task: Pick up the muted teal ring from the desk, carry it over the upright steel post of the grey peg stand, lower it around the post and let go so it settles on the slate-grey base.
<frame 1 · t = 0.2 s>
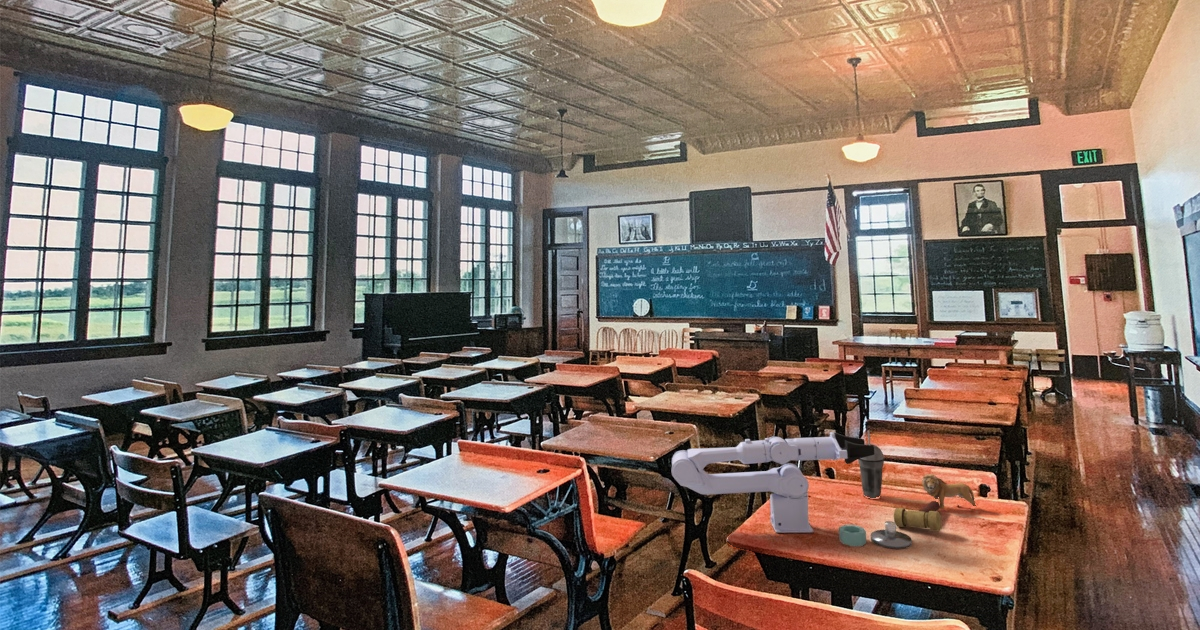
hand: (869, 446, 154), 21 cm above the table, tool horizontal, fingers open, 7 cm apart
ring: (852, 541, 147), on the table
grey peg stand: (890, 541, 146), on the table
lion figurine: (949, 508, 164), on the table, touching gavel
gavel: (927, 519, 157), on the table, touching lion figurine
beverage cup: (872, 497, 176), on the table
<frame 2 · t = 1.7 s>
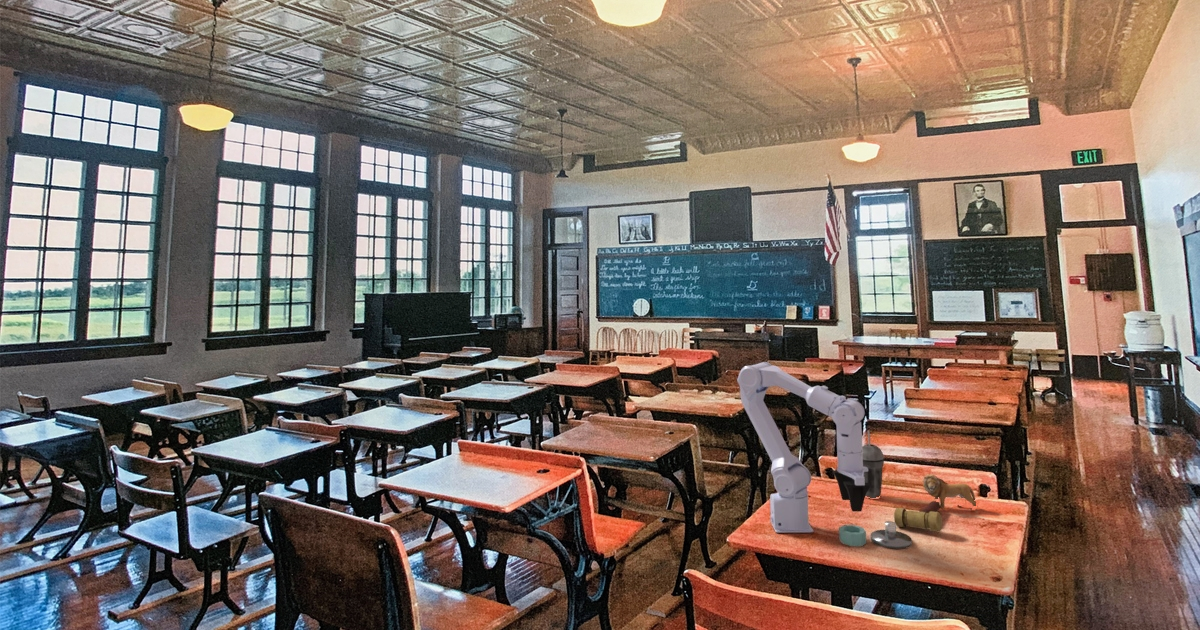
hand: (851, 505, 146), 9 cm above the table, tool pointing down, fingers open, 7 cm apart
nothing on the table moved.
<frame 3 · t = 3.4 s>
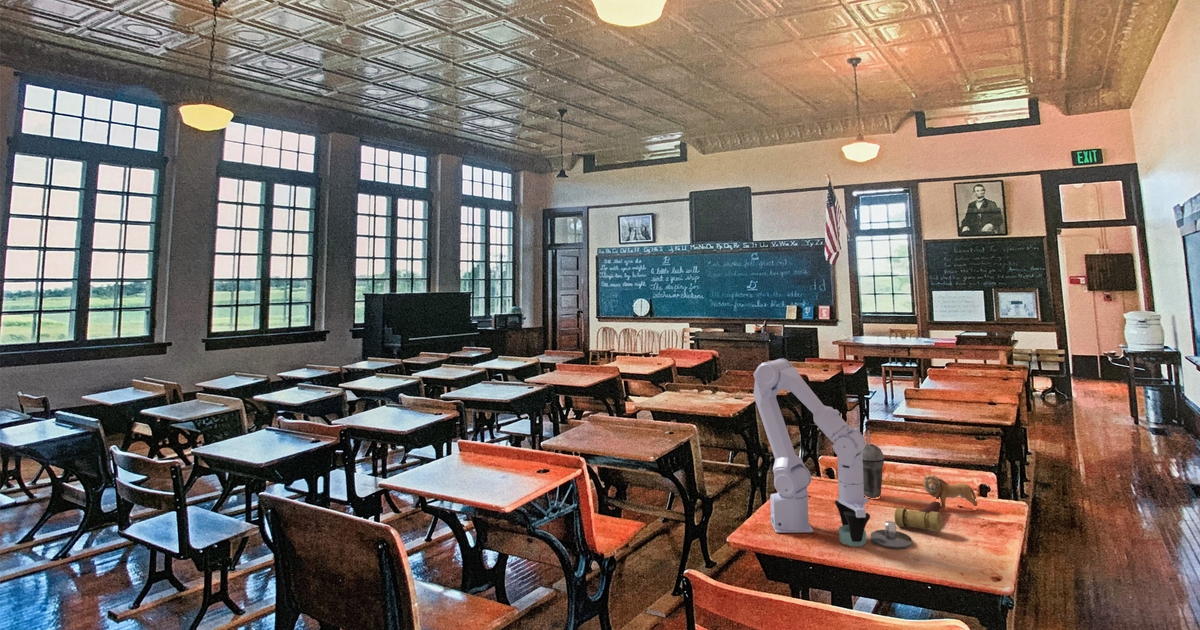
hand: (852, 535, 147), 1 cm above the table, tool pointing down, fingers closed on ring, 6 cm apart
ring: (852, 541, 147), on the table, touching gripper
everything else where it was.
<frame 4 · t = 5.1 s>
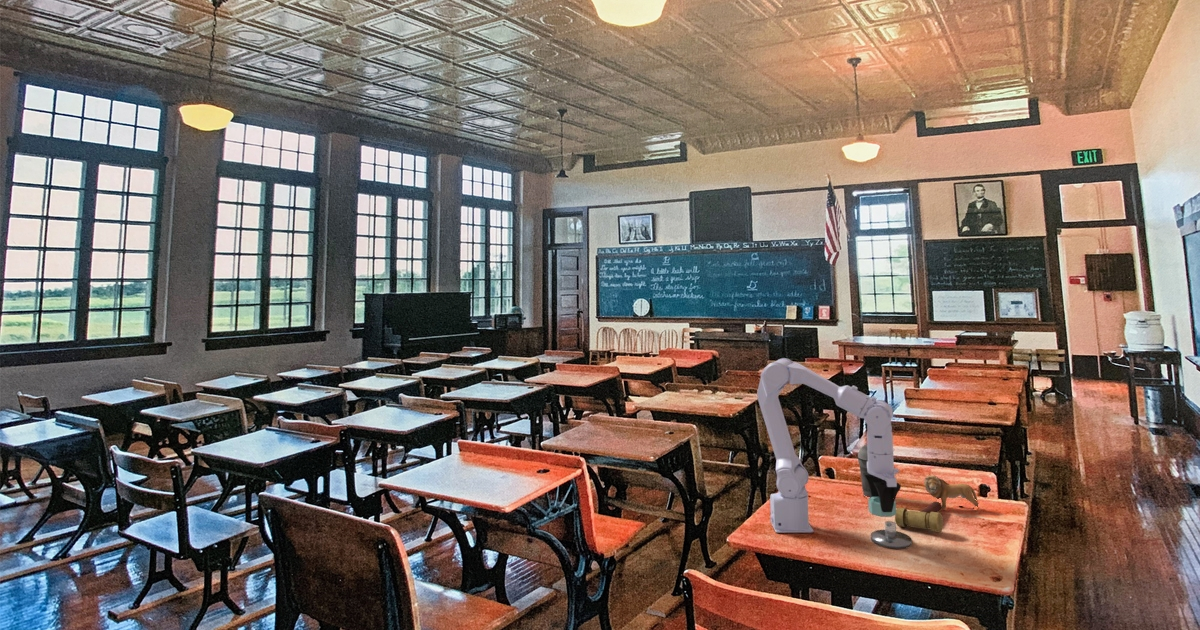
hand: (882, 506, 145), 9 cm above the table, tool pointing down, fingers closed on ring, 6 cm apart
ring: (882, 512, 146), point 7 cm above the table, touching gripper
everything else where it was.
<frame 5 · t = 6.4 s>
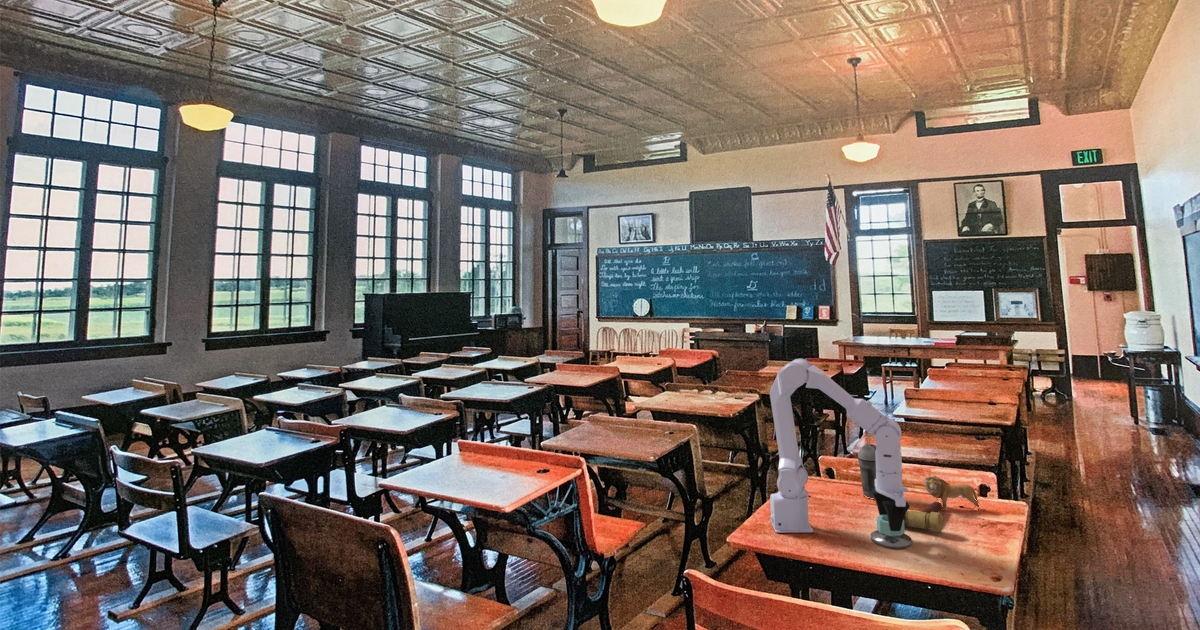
hand: (890, 525, 146), 4 cm above the table, tool pointing down, fingers closed on ring, 6 cm apart
ring: (890, 531, 146), point 3 cm above the table, touching gripper
everything else where it was.
when the fingers open (4 cm above the table, at t = 7.3 s): ring drops 2 cm, resting on grey peg stand.
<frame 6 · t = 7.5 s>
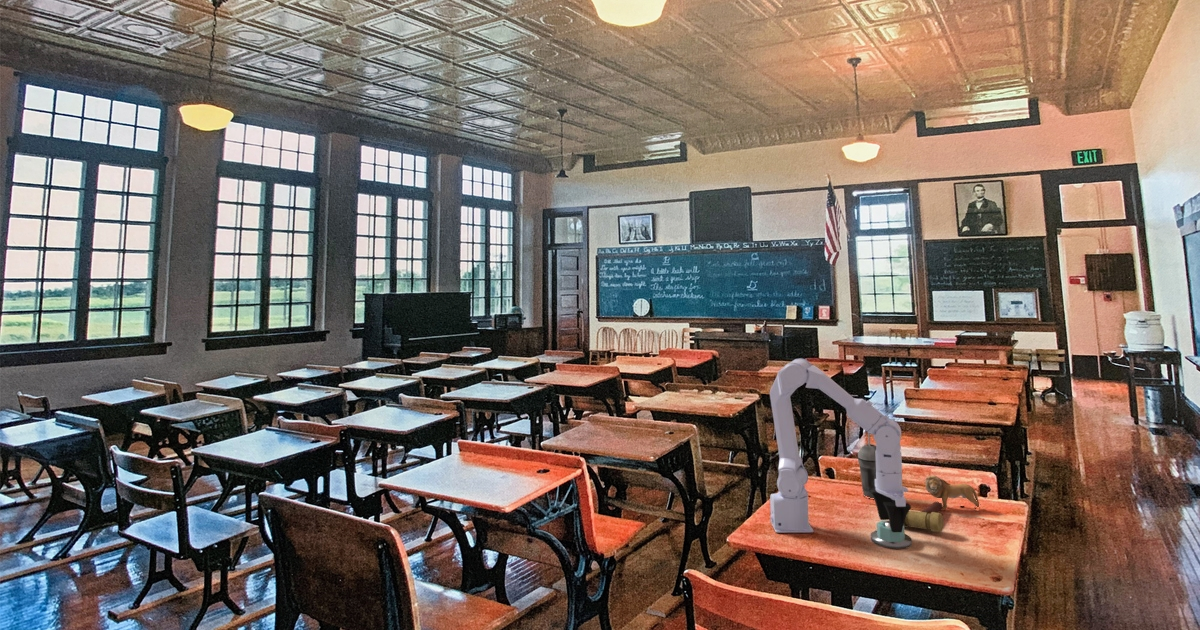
hand: (890, 525, 146), 4 cm above the table, tool pointing down, fingers open, 7 cm apart
ring: (890, 537, 146), point 1 cm above the table, touching grey peg stand
everything else where it was.
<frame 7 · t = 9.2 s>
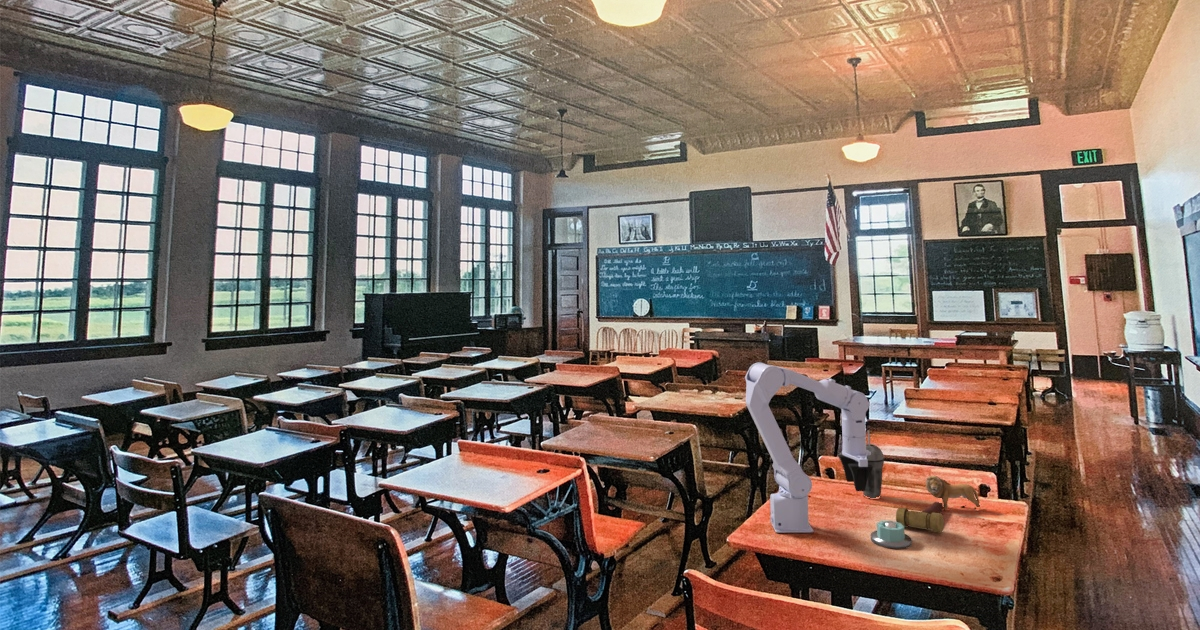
hand: (855, 485, 159), 9 cm above the table, tool pointing down, fingers open, 7 cm apart
nothing on the table moved.
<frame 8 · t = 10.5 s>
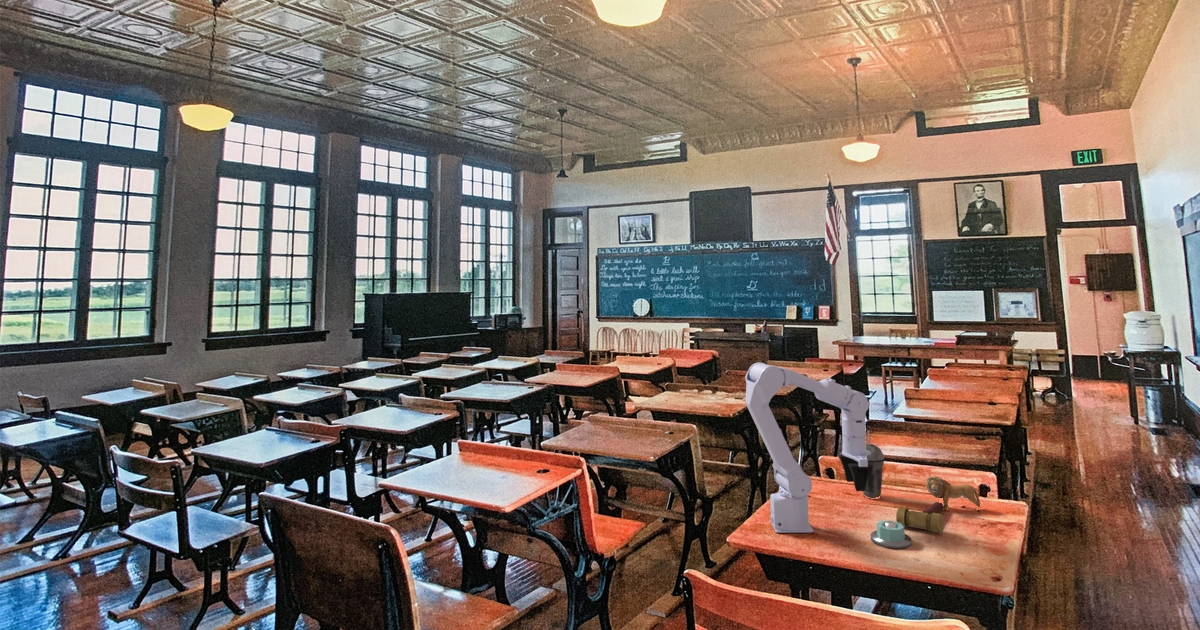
hand: (855, 485, 159), 9 cm above the table, tool pointing down, fingers open, 7 cm apart
at the end: ring 0.0 cm off-centre on the grey peg stand, point 1.0 cm above the grey peg stand's base; the gripper is holding nothing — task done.
